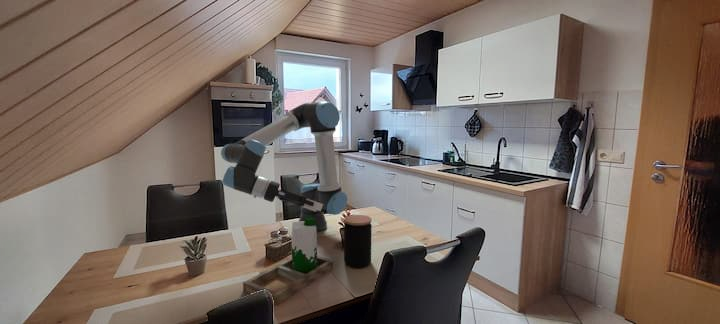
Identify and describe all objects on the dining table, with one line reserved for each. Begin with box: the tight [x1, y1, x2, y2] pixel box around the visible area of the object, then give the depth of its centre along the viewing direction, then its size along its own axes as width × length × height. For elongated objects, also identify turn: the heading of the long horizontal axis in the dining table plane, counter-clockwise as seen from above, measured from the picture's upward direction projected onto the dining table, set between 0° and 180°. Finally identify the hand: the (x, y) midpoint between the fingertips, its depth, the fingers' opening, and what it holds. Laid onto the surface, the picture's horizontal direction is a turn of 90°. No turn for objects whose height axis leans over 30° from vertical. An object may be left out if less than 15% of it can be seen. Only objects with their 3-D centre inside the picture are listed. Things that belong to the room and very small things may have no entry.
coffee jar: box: [343, 214, 372, 269], centre depth 118 cm, size 11×11×18 cm
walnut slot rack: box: [242, 255, 334, 306], centre depth 106 cm, size 28×15×3 cm, turn 148°
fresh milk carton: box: [291, 217, 318, 274], centre depth 111 cm, size 9×9×20 cm
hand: (319, 208), depth 118 cm, fingers open, 13 cm apart
